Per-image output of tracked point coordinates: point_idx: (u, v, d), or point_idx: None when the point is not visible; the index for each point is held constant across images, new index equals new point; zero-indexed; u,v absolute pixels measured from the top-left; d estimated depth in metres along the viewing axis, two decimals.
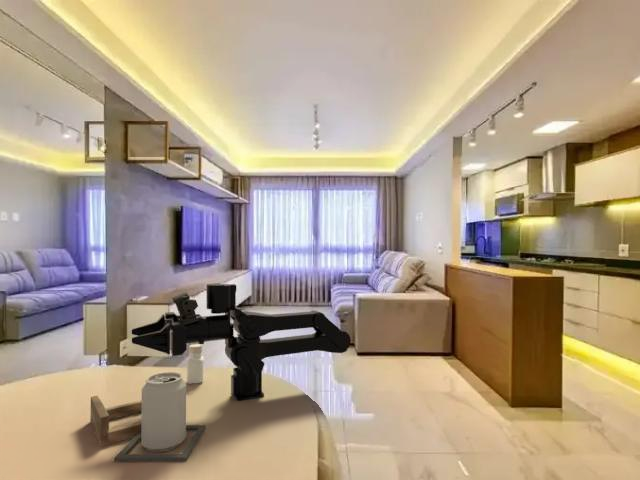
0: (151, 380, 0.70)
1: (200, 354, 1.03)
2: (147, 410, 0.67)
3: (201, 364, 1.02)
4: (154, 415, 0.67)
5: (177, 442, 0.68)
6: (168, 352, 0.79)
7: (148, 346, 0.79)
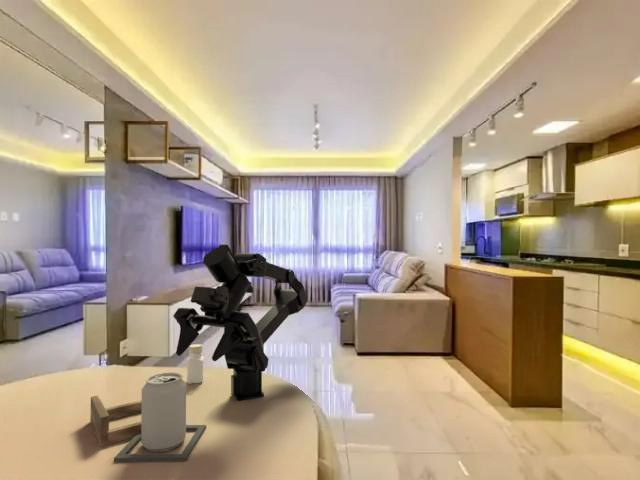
0: (151, 380, 0.70)
1: (200, 354, 1.03)
2: (147, 410, 0.67)
3: (201, 364, 1.02)
4: (154, 415, 0.67)
5: (177, 442, 0.68)
6: (247, 339, 0.80)
7: (228, 350, 0.78)
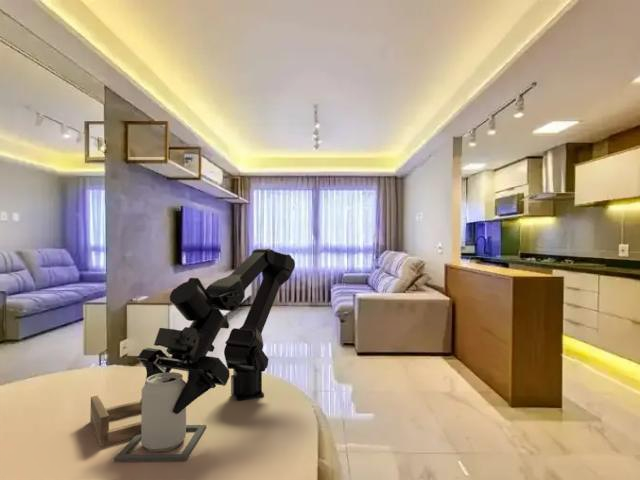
0: (151, 380, 0.70)
1: None
2: (147, 409, 0.67)
3: None
4: (154, 415, 0.67)
5: (177, 442, 0.68)
6: (215, 386, 0.72)
7: (192, 400, 0.70)
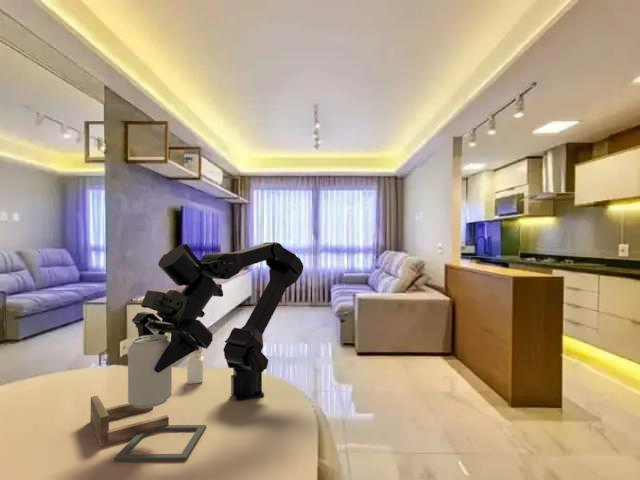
0: (138, 340, 0.73)
1: (200, 354, 1.03)
2: (130, 367, 0.69)
3: (201, 364, 1.02)
4: (136, 372, 0.69)
5: (159, 400, 0.70)
6: (198, 349, 0.73)
7: (174, 361, 0.71)
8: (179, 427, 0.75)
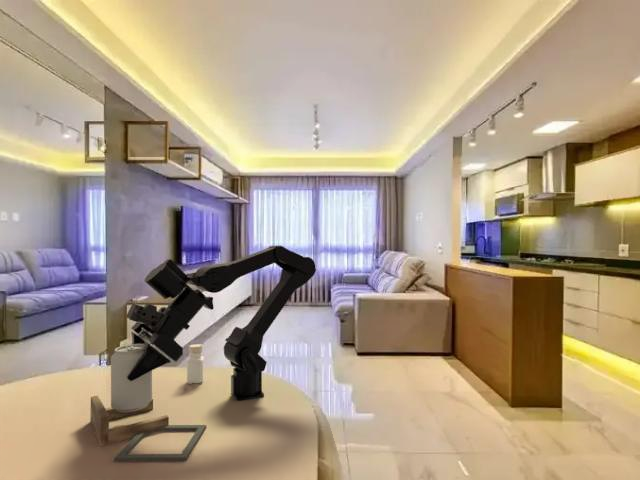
0: (124, 348, 0.79)
1: (200, 354, 1.03)
2: (111, 373, 0.76)
3: (201, 364, 1.02)
4: (114, 379, 0.75)
5: (133, 407, 0.75)
6: (169, 361, 0.76)
7: (147, 371, 0.75)
8: (179, 427, 0.75)
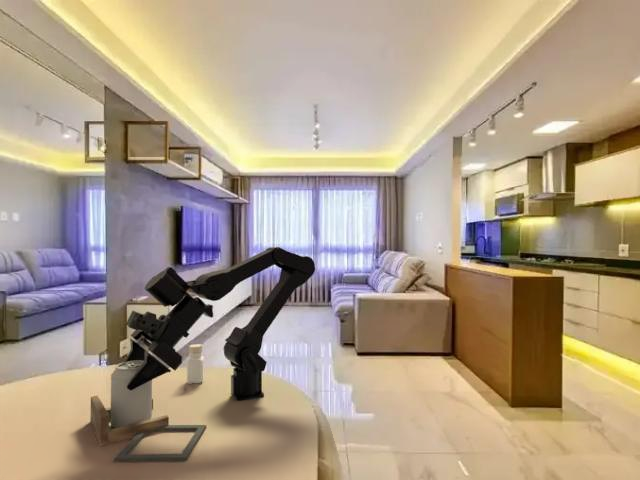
0: (124, 365, 0.79)
1: (200, 354, 1.03)
2: (111, 390, 0.76)
3: (201, 364, 1.02)
4: (114, 396, 0.75)
5: None
6: (169, 371, 0.75)
7: (147, 380, 0.75)
8: (179, 427, 0.75)
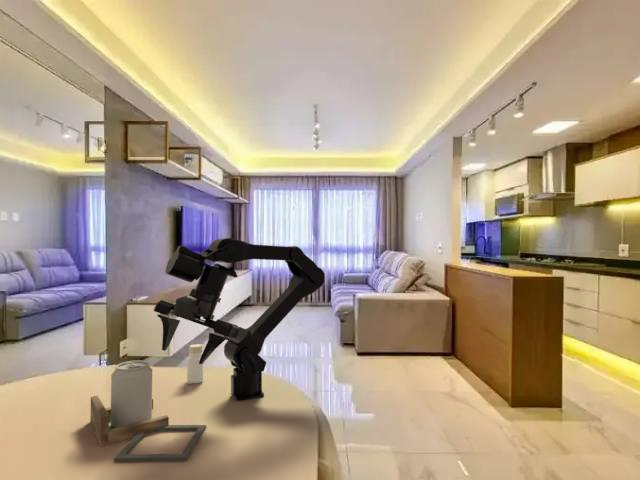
0: (124, 365, 0.79)
1: (200, 354, 1.03)
2: (111, 390, 0.76)
3: (201, 364, 1.02)
4: (114, 396, 0.75)
5: None
6: (229, 339, 0.87)
7: (212, 351, 0.86)
8: (179, 427, 0.75)
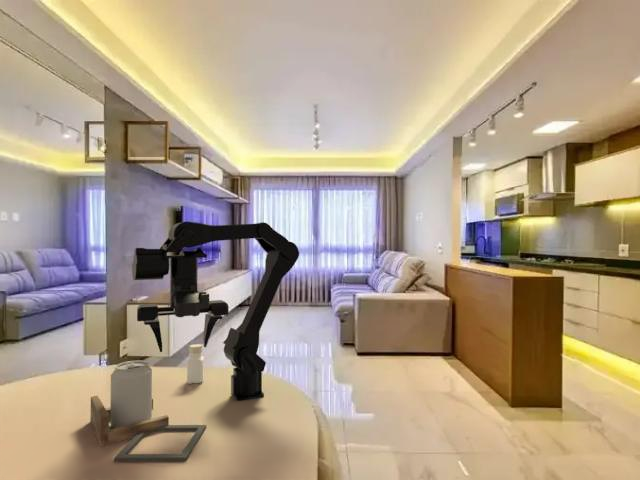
0: (124, 365, 0.79)
1: (200, 354, 1.03)
2: None
3: (201, 364, 1.02)
4: (113, 396, 0.75)
5: None
6: None
7: None
8: (179, 427, 0.75)
